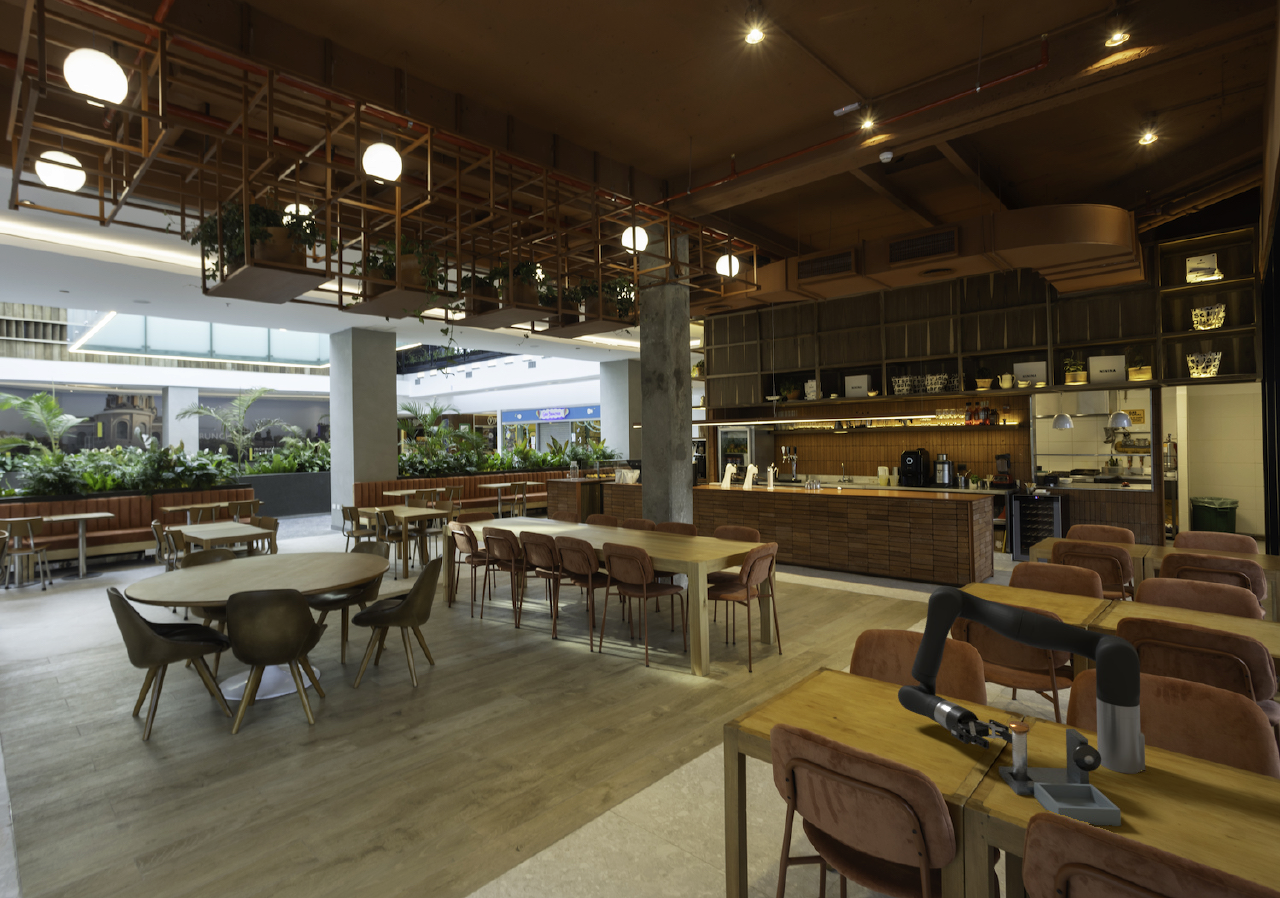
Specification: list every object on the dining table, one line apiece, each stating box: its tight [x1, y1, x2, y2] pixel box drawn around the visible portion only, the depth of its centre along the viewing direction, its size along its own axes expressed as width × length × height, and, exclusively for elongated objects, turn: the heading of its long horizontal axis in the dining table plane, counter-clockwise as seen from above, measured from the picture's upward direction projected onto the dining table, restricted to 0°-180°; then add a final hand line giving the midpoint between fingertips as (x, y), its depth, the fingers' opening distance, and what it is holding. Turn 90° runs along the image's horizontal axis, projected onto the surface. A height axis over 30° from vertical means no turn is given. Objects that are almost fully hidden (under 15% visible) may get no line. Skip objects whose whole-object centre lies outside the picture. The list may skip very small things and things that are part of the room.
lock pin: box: [1008, 720, 1030, 781], centre depth 163 cm, size 4×4×15 cm
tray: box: [1033, 783, 1122, 827], centre depth 151 cm, size 13×11×4 cm
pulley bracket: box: [998, 728, 1101, 796], centre depth 162 cm, size 20×10×13 cm, turn 84°
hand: (1001, 743), depth 168 cm, fingers open, 8 cm apart
